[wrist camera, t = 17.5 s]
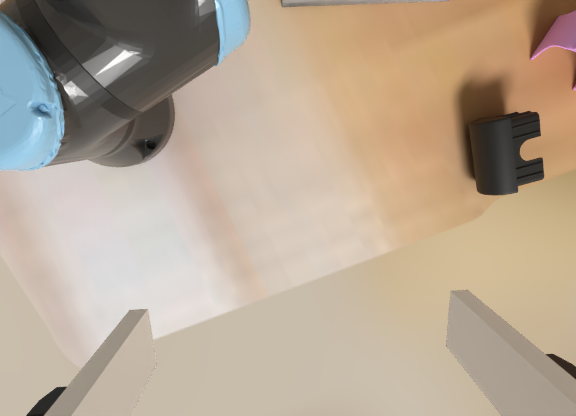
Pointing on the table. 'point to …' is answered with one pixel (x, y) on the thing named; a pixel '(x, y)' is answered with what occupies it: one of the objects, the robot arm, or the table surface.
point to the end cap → (504, 152)
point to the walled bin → (343, 2)
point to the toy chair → (560, 35)
